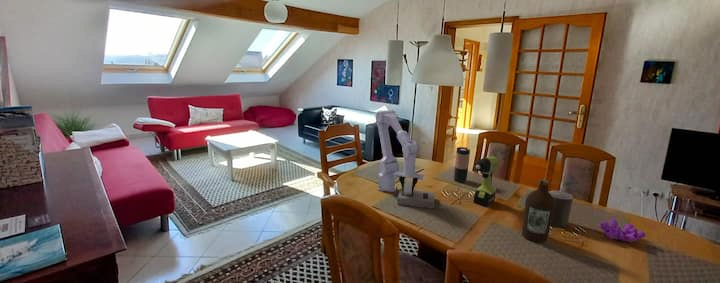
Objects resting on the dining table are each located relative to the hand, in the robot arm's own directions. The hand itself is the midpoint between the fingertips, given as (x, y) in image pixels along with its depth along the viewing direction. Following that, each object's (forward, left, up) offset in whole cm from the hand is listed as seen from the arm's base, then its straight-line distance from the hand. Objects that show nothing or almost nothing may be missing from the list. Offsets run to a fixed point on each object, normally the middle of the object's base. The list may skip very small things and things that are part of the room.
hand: (407, 191), depth 163 cm
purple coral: (+89, -13, -5) cm, 91 cm away
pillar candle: (+67, -5, -5) cm, 68 cm away
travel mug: (+28, +36, -5) cm, 46 cm away
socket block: (+4, 0, -5) cm, 7 cm away
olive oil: (+54, -21, -5) cm, 59 cm away
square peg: (0, 0, -3) cm, 3 cm away
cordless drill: (+36, +5, -5) cm, 37 cm away
